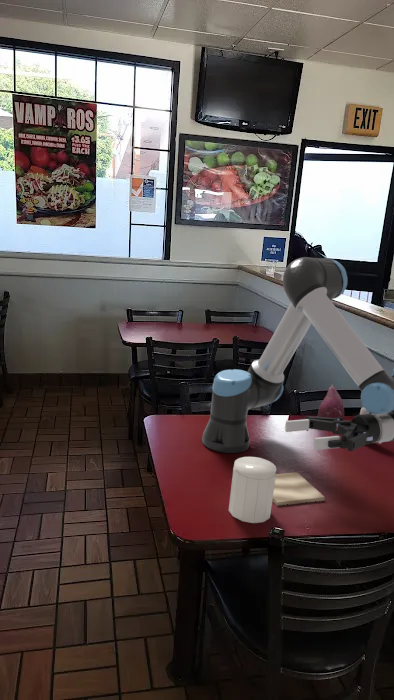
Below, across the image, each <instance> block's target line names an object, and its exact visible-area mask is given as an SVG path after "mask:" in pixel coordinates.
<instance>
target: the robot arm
mask: <svg viewBox="0 0 394 700" xmlns="http://www.w3.org/2000/svg"><path fill="white" fill-rule="evenodd" d="M347 274H348V273H347V270H346V268H345V267H344V266H343V265H342V264H341V263H340V262H339V261H337V260H335V259H331V258H328V257H323V258H321V257H320V258H318V257H307V256H303V257H299V258H296V259H294V260H293V261H291V262H290V263H289V264H288V265H287V266H286V268H285V270H284V272H283V274H282V275H283V276H282V287H283V290H284V292H285V294H286V296H287V298H288V300H289V302H290V303H289V305H288V307H287V309H286V311H285V313H284V314H283V316H282V318H281V320H280V322H279V323H278V325H277V327H276V329H275V331H274V332H273V335H272V336H271V338H270V340H269V341H268V344H266V347H265V349H264V351H263V352H262V355H261V356H260V358H259V359H254V360H253V361H252V363H251V364H250V366H249V368H248V370H247V371H246V370H243V369H237V368H236V369H235V368H234V369H224V370H221V371H219V372H218V373H217V374H216V375H215V376H214V377H213V378H214V379H213V383H212V387H211V388H212V393H211V403H210V404H211V405H210V414H209V415H210V416H209V420H208V422H207V425H206V426H205V428H204V430H203V433H202V439H201V440H202V444H203V445H204V446H205V447H207V449H210V450H213V451H215V452H219V453H225V454H238V453H242V452H245V451H247V450H248V449H249V448H250V442H251V441H250V435H249V430H248V425H247V418H248V412H249V410H252V409H255V408H259V407H263V406H268V405H271V404H273V403H274V402H276V401H278V399H280V398H281V397H282V394H283V391H284V387H285V386H284V385H283V384H284V380H285V375H284V371H285V370H286V368H287V366H288V364H289V363H290V361H291V360H292V358H293V356H294V354H295V352H296V351H297V350H298V347H299V346H300V344H301V343H302V340H303V339H304V337H305V336H306V334H307V332H308V331H309V329H310V328H311V325H312V326H313V328H314V329H315V331H316V332H317V334H318V335H319V336H320V338H322V340H323V341H324V343H325V344H326V345H327V346H328V348H329V349H330V350H331V352H332V353H333V355H334V356H335V358H336V359H337V360H338V362H340V364H341V366H343V369H344V370H345V371H346V372H347V374H348V375H349V376H350V378H351V379H352V380H353V382H354V383H355V384H356V386H357V387H358V389H359V390H360V391H361V393H360V403H361V406H362V407H364V408H365V409H366V410H367V411H369V412H370V413H372V414H361V415H360V414H357V415H356V416H354V417H353V419H352V420H347V419H346V420H345V419H344V421H343V418H327V417H317V416H311V415H306V416H305V418H304V419H294V420H286V421H285V427H284V428H285V433H292V432H302V431H306V432H308V431H309V430H317V431H324V432H331V433H332V434H333V435H331V436H322V437H313V450H314V451H321V450H322V451H323V450H330V449H331V450H332V449H340V448H341V450H342V449H344V450H345V449H346V450H347V451H349V452H353V451H355V450H357V449H359V448H361V447H364V446H366V445H370V444H375V443H378V444H379V445H380V444H382V443H385V442H394V367H393V368H392V371H391V375H390V376H389V374H388V373H387V372H386V371H385V370H384V368H383V367H382V366H381V364H380V363H379V362H378V360H377V359H376V358H375V356H374V355H373V353H372V352H371V351H370V349H368V347H367V346H366V345H365V344H364V342H363V341H362V339H361V338H360V337H359V336H358V334H357V333H356V332H355V330H354V329H353V328H352V326H351V325H350V324H349V322H348V321H347V320H346V319H345V318H344V317H345V316H344V315H342V313H341V312H340V311H339V309H338V308H337V307H336V306H335V304H334V303H333V302H332V300H334V299H337V298H339V297H340V296H341V295H343V294H344V292H345V290H346V289H347V286H348V275H347Z"/></svg>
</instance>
